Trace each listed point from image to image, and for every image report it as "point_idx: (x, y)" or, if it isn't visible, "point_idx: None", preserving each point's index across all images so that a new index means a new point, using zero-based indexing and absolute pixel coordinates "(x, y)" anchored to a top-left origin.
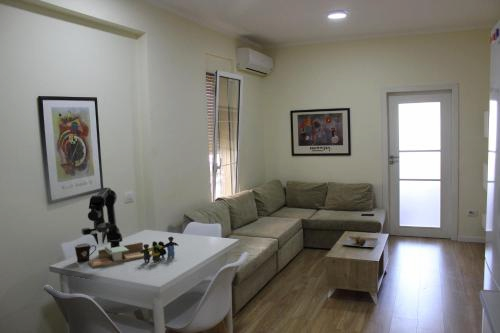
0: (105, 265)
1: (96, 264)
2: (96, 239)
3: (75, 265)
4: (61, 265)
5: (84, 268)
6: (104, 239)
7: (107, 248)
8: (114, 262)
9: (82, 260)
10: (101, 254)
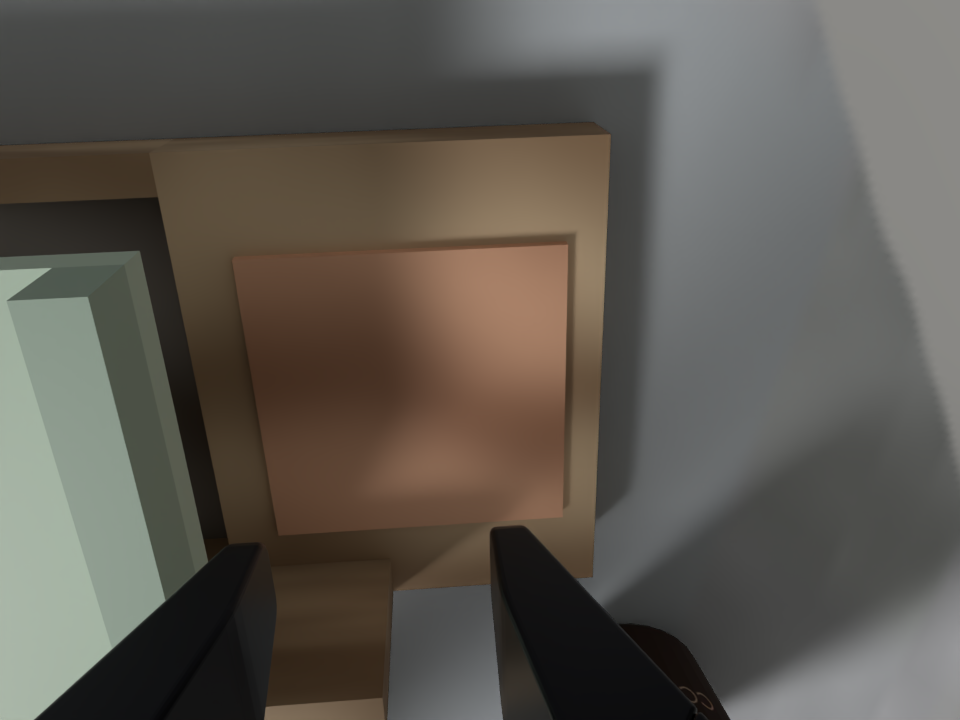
0: (343, 136)
1: (539, 193)
2: (663, 709)
3: (783, 564)
4: (935, 674)
5: (731, 302)
6: (89, 682)
7: (149, 570)
8: (114, 151)
9: (661, 656)
10: (334, 621)
